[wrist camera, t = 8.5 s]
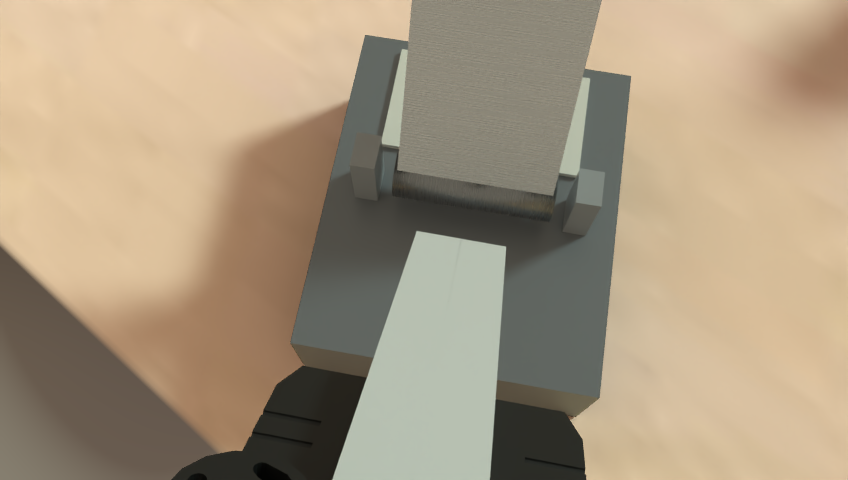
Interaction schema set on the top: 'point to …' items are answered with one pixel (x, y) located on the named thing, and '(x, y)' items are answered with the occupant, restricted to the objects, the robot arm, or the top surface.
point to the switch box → (523, 238)
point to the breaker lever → (491, 102)
